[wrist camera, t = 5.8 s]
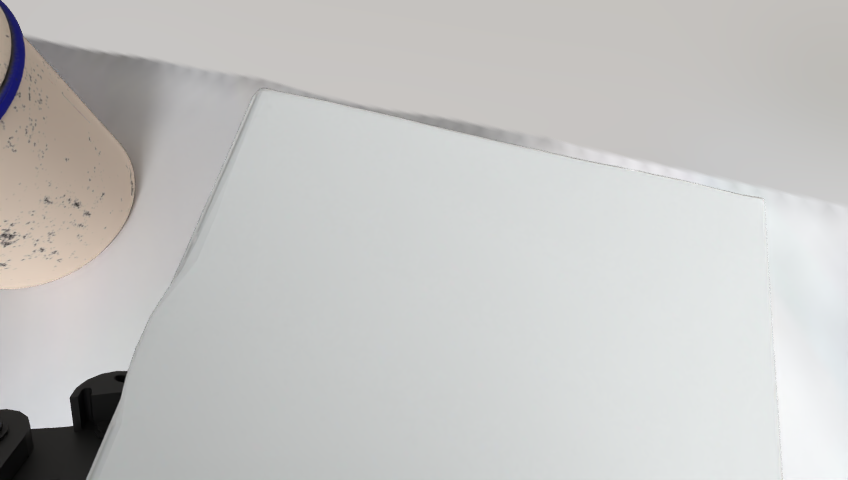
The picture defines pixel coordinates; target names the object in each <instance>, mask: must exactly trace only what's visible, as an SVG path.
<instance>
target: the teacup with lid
mask: <svg viewBox="0 0 848 480" xmlns="http://www.w3.org/2000/svg"><path fill="white" fill-rule="evenodd" d="M134 193H135V177H134V170H133V167H132V163H131V161H130V159H129V156H128V155H127V153H126V151H125V150H124V148H123V147H122V146H121V144H120V143H119V142H118V141H117V140H116V139H115V137H114V136H113V135H112V134H111V133H110V132H109V131H108V130H107V129H106V127H105V126H104V125H103V124H102V123H101V122H100V121H99V120H98V119H97V117H96V116H95V115H94V114H93V113H92V112H91V111H90V110H89V109H88V107H87V106H86V105H85V104H84V103H83V102H82V101H81V100H80V98H79V97H78V96H77V95H76V94H75V93H74V92H73V91H72V90H71V88H70V87H69V86H68V85H67V84H66V83H65V82H64V81H63V80H62V78H61V77H60V76H59V75H58V74H57V73H56V72H55V71H54V70H53V68H52V67H51V66H50V65H49V64H48V63H47V62H46V61H45V60H44V58H43V57H42V56H41V55H40V54H39V53H38V52H37V51H36V50H35V48H34V47H33V46H32V45H31V44H30V43H29V42H28V41H27V40H26V38H25V37H24V36H23V34H22V31H21V29H20V26H19V24H18V22H17V20H16V19H15V17H14V15H13V14H12V12H11V11H10V10H9V8H8V7H7V6H6V5H5V4H4V3H3V2H2V1H1V0H0V289H19V288H28V287H33V286H38V285H42V284H45V283H49V282H52V281H54V280H57V279H60V278H62V277H64V276H66V275H69V274H71V273H72V272H74V271H76V270H78V269H80V268H81V267H83V266H84V265H86V264H87V263H89V262H90V261H91V260H93V259H94V258H95V257H96V256H98V255H99V254H100V253H101V252H102V251H103V250H104V249H105V248H106V247H107V246H108V245H109V244H110V243H111V242H112V241H113V239H114V238H115V237H116V236H117V234H118V233H119V231H120V230H121V228H122V227H123V225H124V223H125V221H126V219H127V217H128V215H129V213H130V210H131V207H132V204H133V199H134Z"/></svg>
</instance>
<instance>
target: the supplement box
mask: <svg viewBox="0 0 848 480" xmlns="http://www.w3.org/2000/svg"><path fill="white" fill-rule="evenodd" d="M86 480H783V473H782V458H781V444H780V429H779V415H778V400H777V386H776V371H775V357H774V341H773V326H772V310H771V295H770V279H769V263H768V248H767V232H766V212H765V201H764V198H760V197H755V196H747V195H741V194H737V193H733V192H728V191H724V190H720V189H716V188H712V187H708V186H704V185H700V184H696V183H692V182H688V181H684V180H679V179H675V178H669V177H665V176H660V175H654V174H650V173H646V172H642V171H636V170H630V169H626V168H622V167H617V166H611V165H606V164H600V163H595V162H590V161H585V160H580V159H576V158H572V157H567V156H563V155H559V154H555V153H550V152H546V151H542V150H537V149H532V148H528V147H523V146H518V145H514V144H509V143H504V142H500V141H496V140H492V139H487V138H483V137H479V136H475V135H471V134H466V133H462V132H458V131H454V130H449V129H445V128H440V127H436V126H432V125H427V124H423V123H419V122H415V121H411V120H407V119H403V118H399V117H395V116H390V115H386V114H382V113H377V112H373V111H368V110H364V109H360V108H355V107H351V106H346V105H342V104H338V103H333V102H329V101H325V100H320V99H315V98H310V97H305V96H300V95H295V94H290V93H285V92H279V91H275V90H271V89H267V88H261V89H260V90H259V91H258V92H256V93H255V94H254V96H253V97H252V99H251V101H250V104H249V106H248V108H247V111H246V113H245V115H244V118H243V120H242V122H241V124H240V127H239V129H238V131H237V134H236V136H235V138H234V141H233V143H232V145H231V148H230V150H229V152H228V154H227V157H226V159H225V161H224V164H223V166H222V168H221V171H220V173H219V175H218V177H217V180H216V182H215V184H214V187H213V189H212V191H211V194H210V196H209V198H208V200H207V203H206V205H205V207H204V210H203V212H202V214H201V216H200V219H199V221H198V223H197V226H196V228H195V230H194V233H193V235H192V237H191V240H190V242H189V244H188V247H187V249H186V251H185V254H184V256H183V258H182V260H181V263H180V265H179V267H178V269H177V271H176V274H175V276H174V278H173V280H172V282H171V285H170V287H169V288H168V289H167V291H166V292H165V293H164V295H163V297H162V298H161V300H160V302H159V303H158V305H157V306H156V308H155V310H154V311H153V313H152V315H151V316H150V318H149V320H148V322H147V325H146V327H145V329H144V331H143V333H142V335H141V338H140V340H139V342H138V344H137V346H136V348H135V351H134V354H133V357H132V360H131V363H130V366H129V369H128V372H127V375H126V378H125V382H124V387H123V391H122V395H121V399H120V401H119V404H118V406H117V408H116V411H115V413H114V415H113V417H112V420H111V422H110V424H109V427H108V429H107V431H106V434H105V436H104V438H103V441H102V443H101V446H100V448H99V450H98V453H97V455H96V457H95V460H94V462H93V464H92V467H91V469H90V471H89V474H88V476H87V478H86Z"/></svg>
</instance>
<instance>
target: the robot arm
mask: <svg viewBox="0 0 848 480" xmlns="http://www.w3.org/2000/svg"><path fill="white" fill-rule="evenodd" d="M127 372H128V371H115V372H109V373H104V374H100V375H98V376H96V377H93V378H91V379H88V380H86V381H85V382H84V383H82V384H81V385H80V386H78V387H77V388H76V389H75V390H74V392H73V394H72V395H71V397H70V403H71V411H72V418H73V426H70V427H59V428H42V429H30V424H29V420H28V417H27V416H26V415H24V414H23V413H21V412H20V411H14V410H8V409H3V410H0V480H86V478H87V476H88V474H89V471H90V469H91V467H92V464H93V462H94V460H95V457H96V455H97V453H98V450H99V448H100V446H101V443H102V441H103V438H104V436H105V434H106V431H107V429H108V427H109V424H110V422H111V420H112V417H113V415H114V413H115V411H116V408H117V406H118V404H119V401H120V399H121V395H122V391H123V387H124V382H125V378H126V375H127Z"/></svg>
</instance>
